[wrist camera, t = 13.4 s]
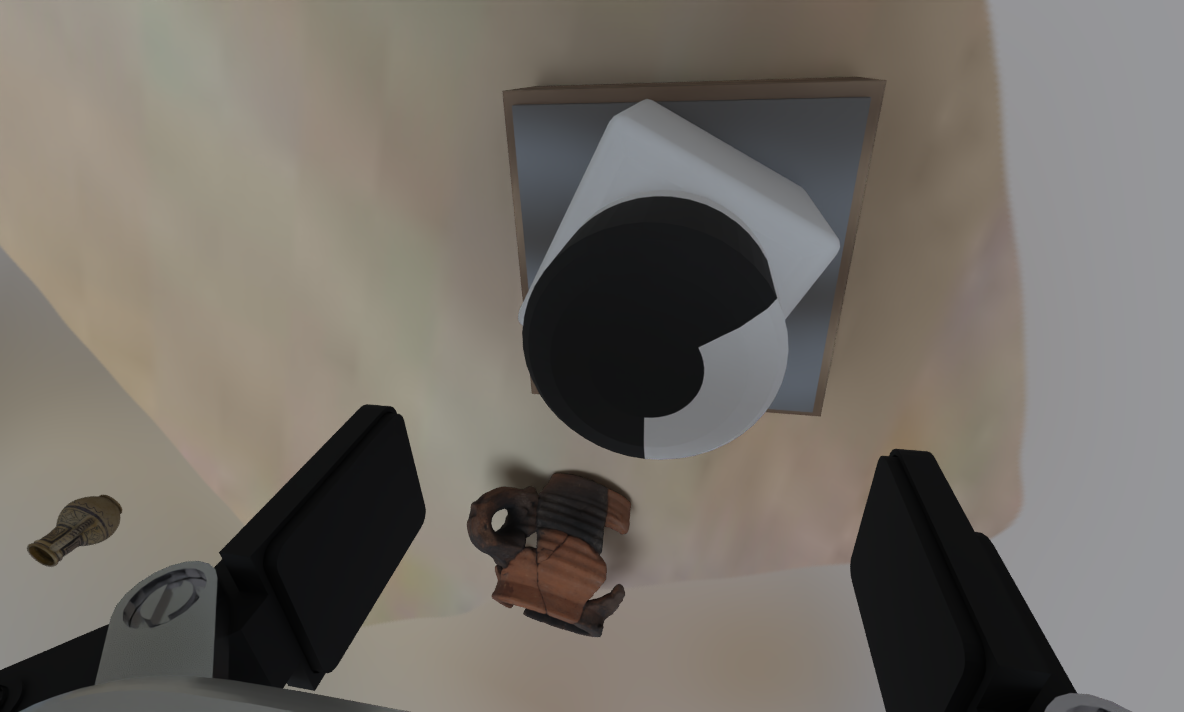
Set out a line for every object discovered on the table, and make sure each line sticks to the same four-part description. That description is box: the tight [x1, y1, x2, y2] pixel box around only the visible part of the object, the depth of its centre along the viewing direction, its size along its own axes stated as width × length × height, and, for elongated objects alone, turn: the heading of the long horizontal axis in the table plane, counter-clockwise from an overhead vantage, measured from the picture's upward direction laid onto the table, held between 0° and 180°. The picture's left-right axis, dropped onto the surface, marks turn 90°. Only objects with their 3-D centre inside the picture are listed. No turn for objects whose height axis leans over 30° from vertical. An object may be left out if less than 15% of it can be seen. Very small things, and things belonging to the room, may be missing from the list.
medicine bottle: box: [518, 99, 840, 460], centre depth 17 cm, size 7×7×12 cm
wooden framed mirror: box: [502, 77, 886, 416], centre depth 25 cm, size 14×14×5 cm
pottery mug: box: [467, 473, 631, 637], centre depth 36 cm, size 12×9×8 cm
